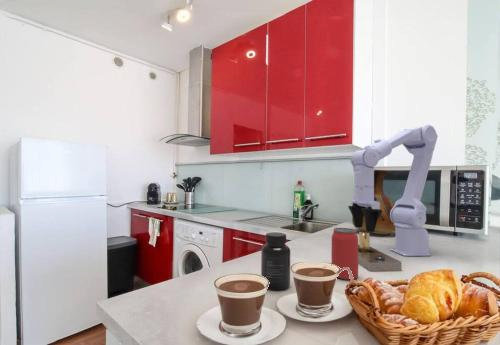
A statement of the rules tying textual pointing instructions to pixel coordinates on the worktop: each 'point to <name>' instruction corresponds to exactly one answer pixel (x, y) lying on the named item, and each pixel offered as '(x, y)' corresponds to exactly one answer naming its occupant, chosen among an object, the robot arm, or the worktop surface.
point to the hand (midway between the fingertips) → (364, 229)
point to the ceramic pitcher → (381, 206)
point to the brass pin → (363, 242)
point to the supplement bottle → (276, 261)
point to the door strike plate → (378, 261)
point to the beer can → (345, 251)
